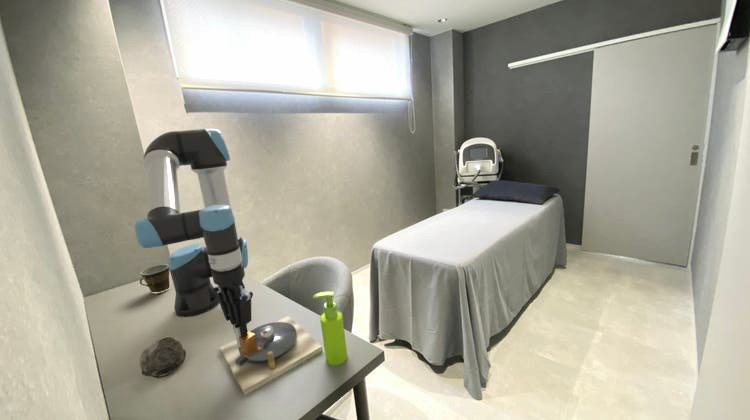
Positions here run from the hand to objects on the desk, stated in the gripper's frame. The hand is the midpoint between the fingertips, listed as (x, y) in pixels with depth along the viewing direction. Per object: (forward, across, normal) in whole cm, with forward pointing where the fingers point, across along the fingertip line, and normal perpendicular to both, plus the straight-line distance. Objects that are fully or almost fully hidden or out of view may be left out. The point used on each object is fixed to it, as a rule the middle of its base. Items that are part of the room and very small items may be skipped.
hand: (243, 343), depth 87 cm
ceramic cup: (+7, -72, +14) cm, 74 cm away
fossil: (+7, -20, -11) cm, 24 cm away
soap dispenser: (+6, +22, +11) cm, 26 cm away
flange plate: (+3, +3, +5) cm, 6 cm away
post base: (+6, +3, +6) cm, 9 cm away
